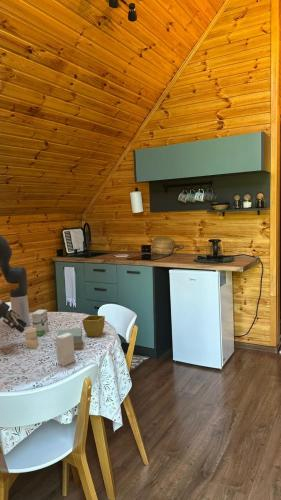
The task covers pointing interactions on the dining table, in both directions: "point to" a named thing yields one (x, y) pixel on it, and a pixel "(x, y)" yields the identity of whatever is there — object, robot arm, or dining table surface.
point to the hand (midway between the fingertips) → (24, 328)
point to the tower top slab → (76, 334)
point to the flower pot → (93, 325)
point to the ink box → (40, 321)
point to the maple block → (31, 338)
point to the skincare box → (65, 349)
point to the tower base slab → (78, 346)
